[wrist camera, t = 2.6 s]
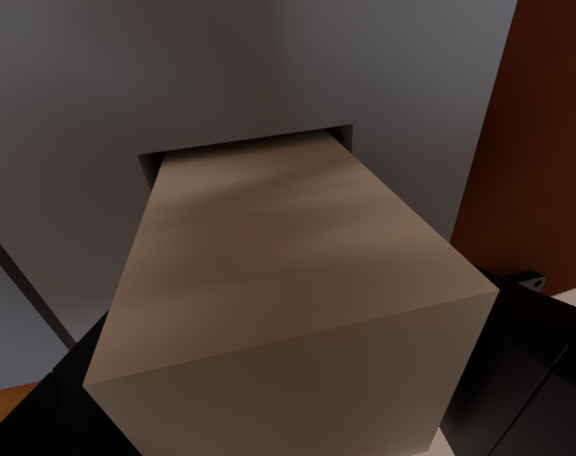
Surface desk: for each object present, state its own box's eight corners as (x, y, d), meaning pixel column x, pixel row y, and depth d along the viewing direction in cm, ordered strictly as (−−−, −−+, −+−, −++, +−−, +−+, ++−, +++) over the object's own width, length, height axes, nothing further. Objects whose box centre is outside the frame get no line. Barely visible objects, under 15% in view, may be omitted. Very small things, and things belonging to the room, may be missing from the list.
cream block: (311, 117, 10) (499, 290, 3) (315, 229, 13) (427, 450, 6) (171, 136, 9) (82, 385, 3) (205, 250, 12) (196, 519, 5)
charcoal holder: (461, -68, 8) (545, -99, 6) (398, 283, 15) (427, 323, 13) (-94, -33, 6) (-234, -60, 4) (131, 341, 14) (118, 396, 12)
